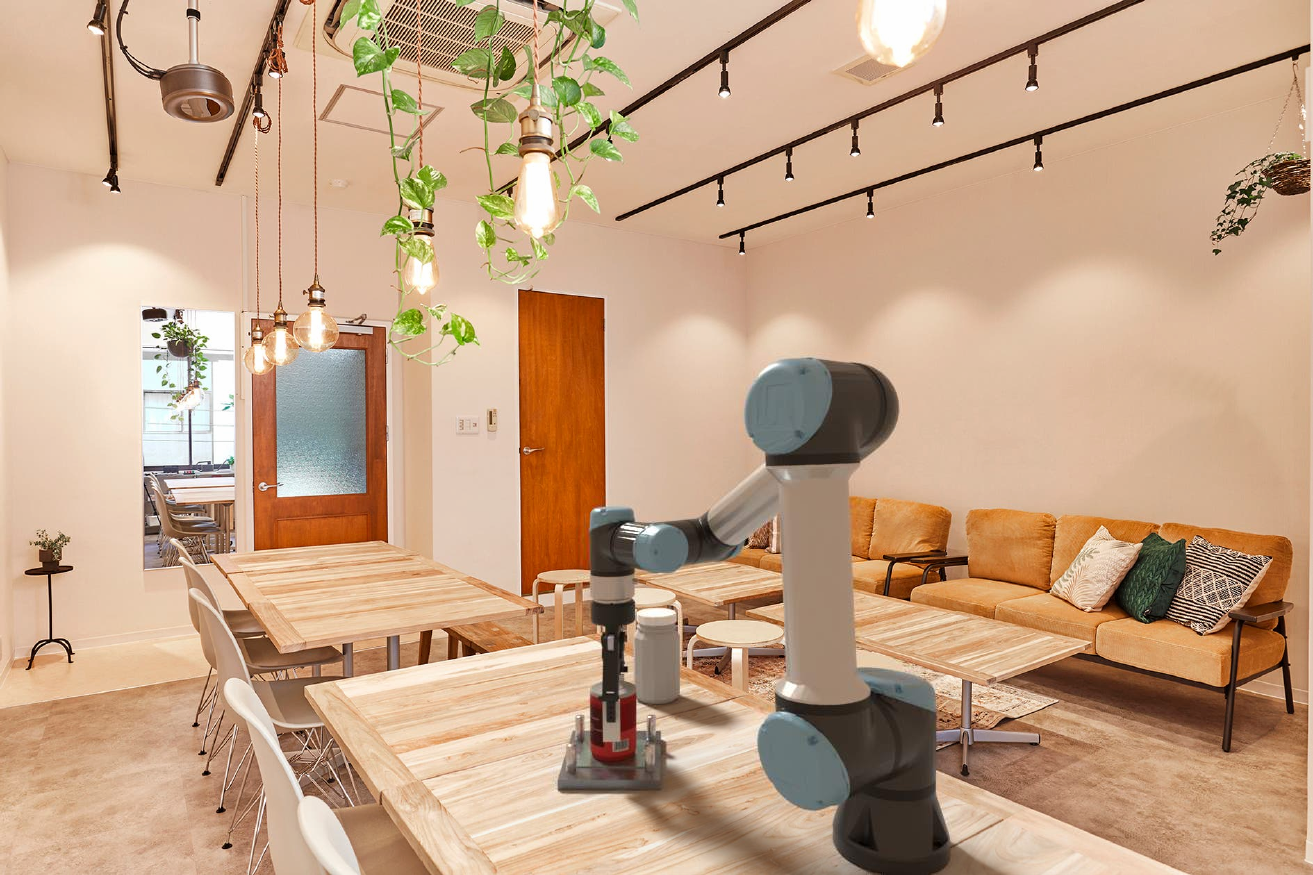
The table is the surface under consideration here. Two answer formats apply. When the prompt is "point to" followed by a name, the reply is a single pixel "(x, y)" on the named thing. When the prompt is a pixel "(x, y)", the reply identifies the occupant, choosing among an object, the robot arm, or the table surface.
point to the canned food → (627, 724)
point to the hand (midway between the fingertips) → (614, 725)
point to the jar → (656, 656)
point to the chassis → (612, 763)
